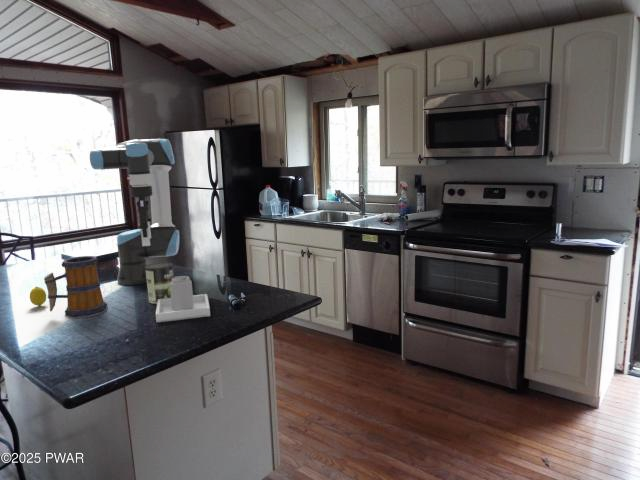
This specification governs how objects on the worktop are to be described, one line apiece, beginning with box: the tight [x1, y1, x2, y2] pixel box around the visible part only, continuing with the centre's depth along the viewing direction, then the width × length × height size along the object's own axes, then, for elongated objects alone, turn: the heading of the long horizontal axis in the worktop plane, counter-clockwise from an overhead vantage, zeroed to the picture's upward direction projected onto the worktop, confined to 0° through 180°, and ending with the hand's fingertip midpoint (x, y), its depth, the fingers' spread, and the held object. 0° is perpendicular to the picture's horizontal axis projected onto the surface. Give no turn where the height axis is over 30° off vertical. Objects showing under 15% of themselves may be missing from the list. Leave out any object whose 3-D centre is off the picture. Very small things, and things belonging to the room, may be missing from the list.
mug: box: [43, 255, 109, 319], centre depth 175 cm, size 19×14×20 cm
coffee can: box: [145, 262, 175, 305], centre depth 188 cm, size 10×10×14 cm
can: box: [170, 275, 194, 311], centre depth 174 cm, size 8×8×12 cm
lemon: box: [29, 286, 47, 307], centre depth 186 cm, size 6×6×8 cm
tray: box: [155, 293, 211, 324], centre depth 174 cm, size 18×18×3 cm
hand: (147, 242), depth 181 cm, fingers open, 13 cm apart
